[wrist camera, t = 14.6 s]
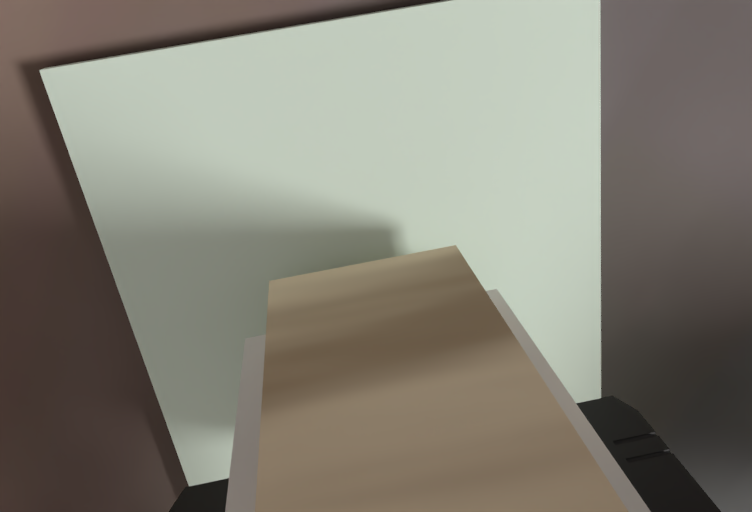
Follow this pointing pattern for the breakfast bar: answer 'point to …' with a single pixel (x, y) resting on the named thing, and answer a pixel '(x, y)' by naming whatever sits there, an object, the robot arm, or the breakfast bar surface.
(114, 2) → the breakfast bar surface
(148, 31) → the breakfast bar surface
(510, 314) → the robot arm
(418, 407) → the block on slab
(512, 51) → the mat
